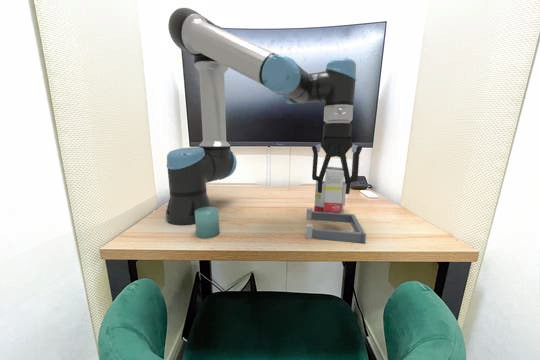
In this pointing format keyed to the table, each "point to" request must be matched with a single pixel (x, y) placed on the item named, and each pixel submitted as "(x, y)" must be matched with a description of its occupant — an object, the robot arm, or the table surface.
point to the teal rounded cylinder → (207, 222)
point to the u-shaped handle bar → (335, 235)
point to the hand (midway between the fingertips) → (332, 203)
